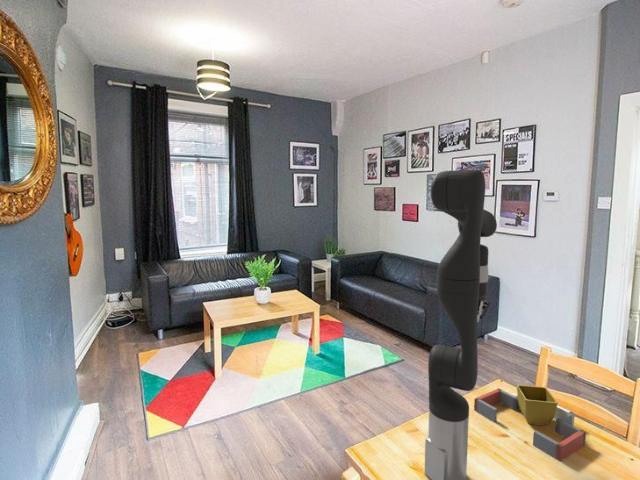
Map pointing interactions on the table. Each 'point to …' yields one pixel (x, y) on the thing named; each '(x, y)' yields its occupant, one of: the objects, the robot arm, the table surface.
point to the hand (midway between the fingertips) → (472, 333)
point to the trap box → (544, 443)
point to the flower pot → (536, 404)
